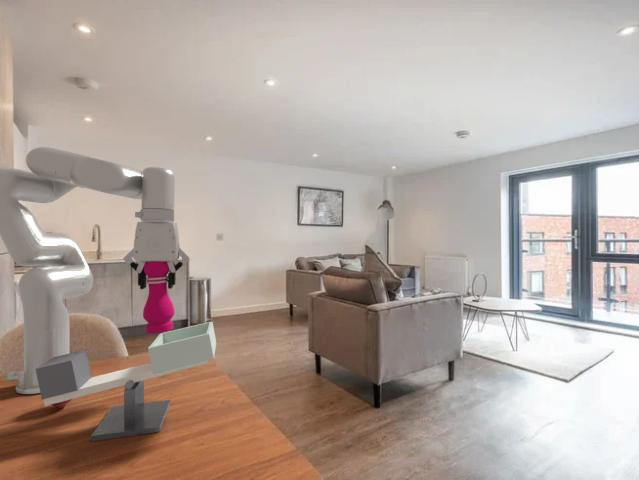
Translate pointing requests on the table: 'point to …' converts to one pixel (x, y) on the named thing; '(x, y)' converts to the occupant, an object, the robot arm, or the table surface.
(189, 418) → the table surface
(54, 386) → the beam
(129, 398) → the stand
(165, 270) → the pepper mill
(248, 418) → the table surface
